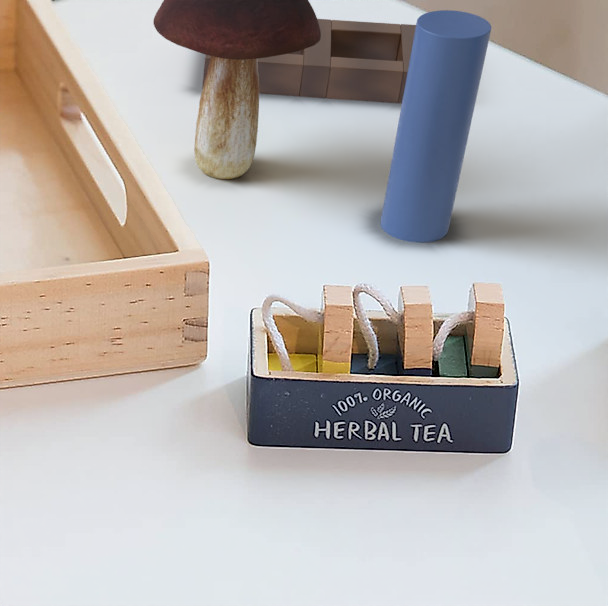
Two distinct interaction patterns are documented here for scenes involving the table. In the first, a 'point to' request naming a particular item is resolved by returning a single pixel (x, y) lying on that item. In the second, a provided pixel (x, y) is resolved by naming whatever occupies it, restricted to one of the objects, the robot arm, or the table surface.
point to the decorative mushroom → (234, 67)
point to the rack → (342, 64)
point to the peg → (434, 124)
